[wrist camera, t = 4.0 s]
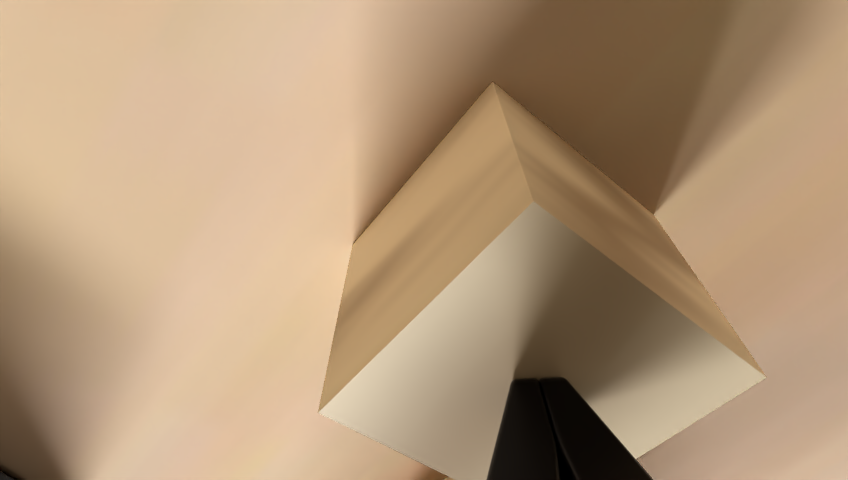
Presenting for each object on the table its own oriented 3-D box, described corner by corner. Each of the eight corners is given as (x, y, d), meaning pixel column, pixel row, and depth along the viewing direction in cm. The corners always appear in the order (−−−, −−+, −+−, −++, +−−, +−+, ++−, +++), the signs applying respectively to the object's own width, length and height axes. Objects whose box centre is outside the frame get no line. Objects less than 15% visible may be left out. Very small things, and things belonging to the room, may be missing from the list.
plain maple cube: (653, 214, 13) (766, 377, 8) (506, 340, 15) (538, 520, 11) (492, 81, 11) (533, 201, 7) (352, 245, 13) (317, 412, 9)
